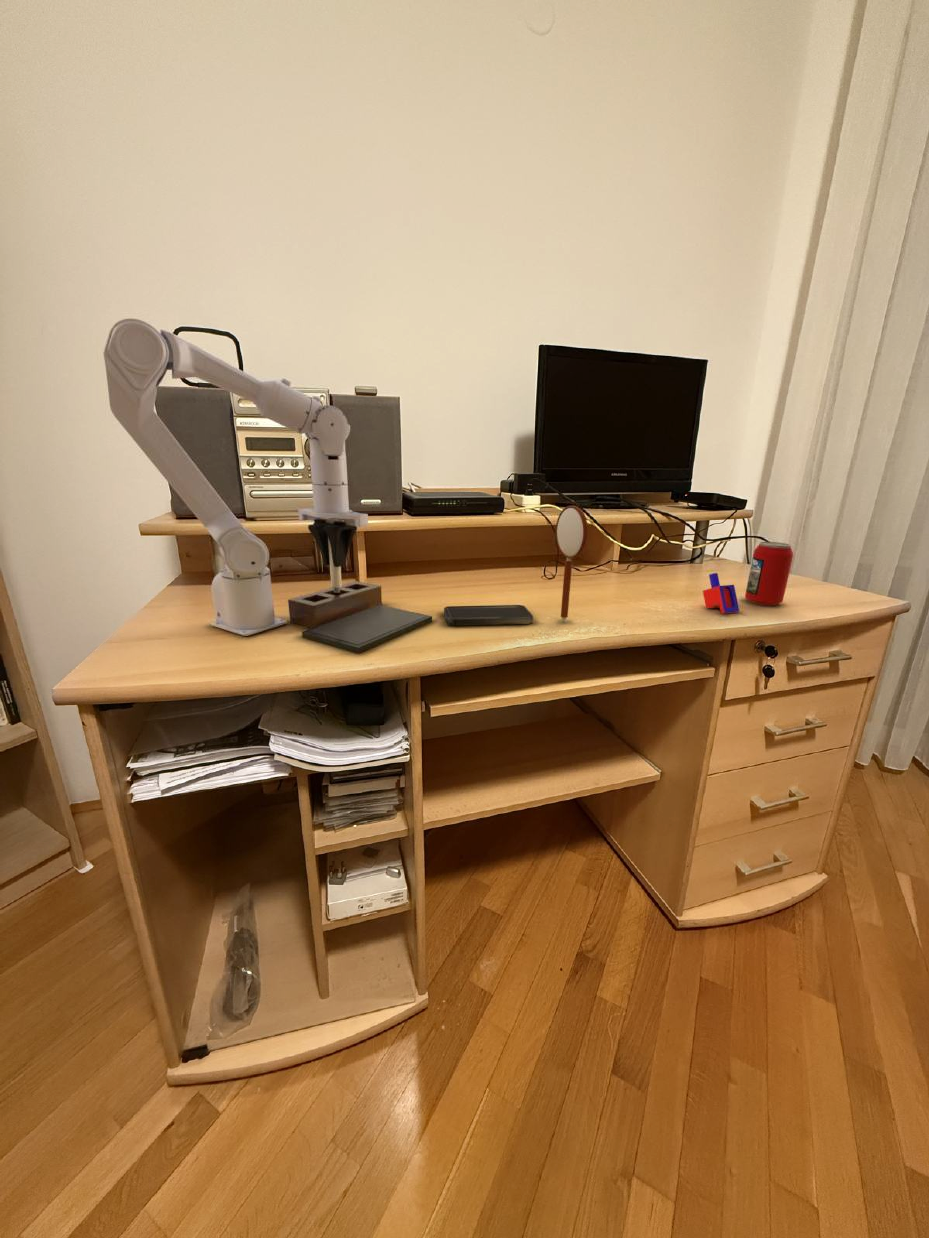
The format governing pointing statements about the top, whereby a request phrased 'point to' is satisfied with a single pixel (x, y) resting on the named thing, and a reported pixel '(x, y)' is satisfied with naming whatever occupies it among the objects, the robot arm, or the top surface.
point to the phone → (487, 615)
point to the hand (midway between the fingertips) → (335, 565)
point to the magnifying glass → (570, 545)
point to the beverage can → (769, 573)
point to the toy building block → (721, 596)
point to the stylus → (334, 573)
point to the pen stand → (333, 603)
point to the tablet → (367, 628)
